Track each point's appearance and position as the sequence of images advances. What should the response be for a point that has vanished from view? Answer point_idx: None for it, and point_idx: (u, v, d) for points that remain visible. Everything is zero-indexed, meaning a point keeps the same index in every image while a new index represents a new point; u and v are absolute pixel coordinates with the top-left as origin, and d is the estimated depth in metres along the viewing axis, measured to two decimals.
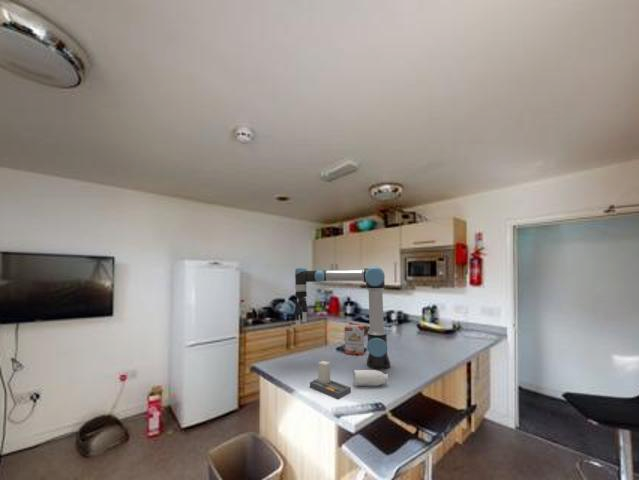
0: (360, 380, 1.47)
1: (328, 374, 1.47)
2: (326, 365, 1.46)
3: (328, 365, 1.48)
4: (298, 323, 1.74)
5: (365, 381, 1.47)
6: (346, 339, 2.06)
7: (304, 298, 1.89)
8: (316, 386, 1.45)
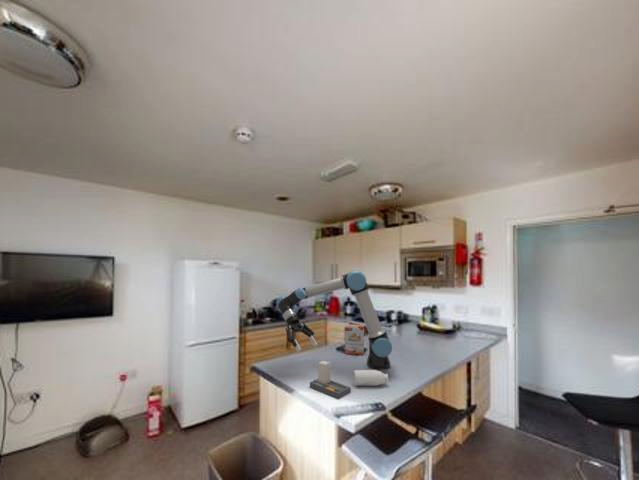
0: (360, 380, 1.47)
1: (328, 374, 1.47)
2: (326, 365, 1.46)
3: (328, 365, 1.48)
4: (298, 348, 1.54)
5: (365, 381, 1.47)
6: (346, 339, 2.06)
7: (302, 323, 1.71)
8: (316, 386, 1.45)
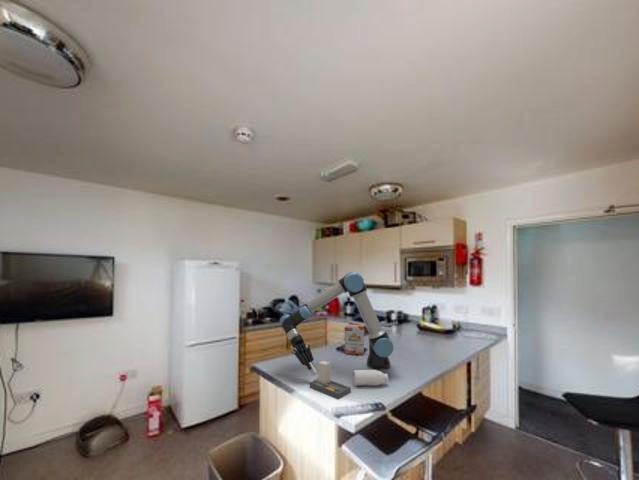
0: (360, 380, 1.47)
1: (328, 374, 1.47)
2: (326, 365, 1.46)
3: (328, 365, 1.48)
4: (313, 371, 1.53)
5: (365, 381, 1.47)
6: (346, 339, 2.06)
7: (307, 346, 1.66)
8: (316, 386, 1.45)
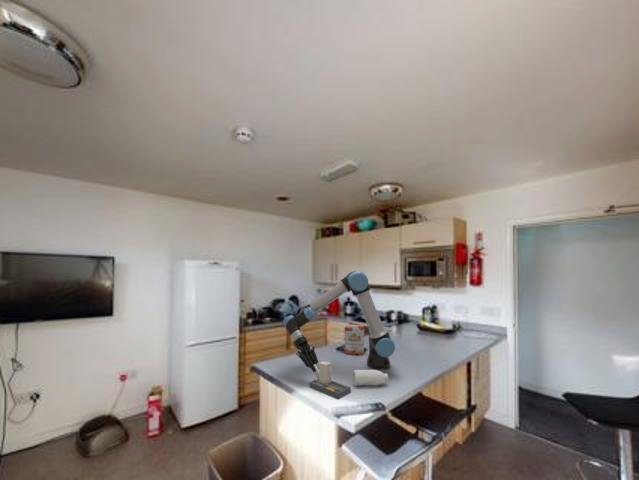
0: (360, 380, 1.47)
1: (329, 374, 1.47)
2: (327, 365, 1.46)
3: (329, 365, 1.47)
4: (317, 374, 1.50)
5: (365, 381, 1.47)
6: (346, 339, 2.06)
7: (312, 347, 1.63)
8: (316, 386, 1.45)
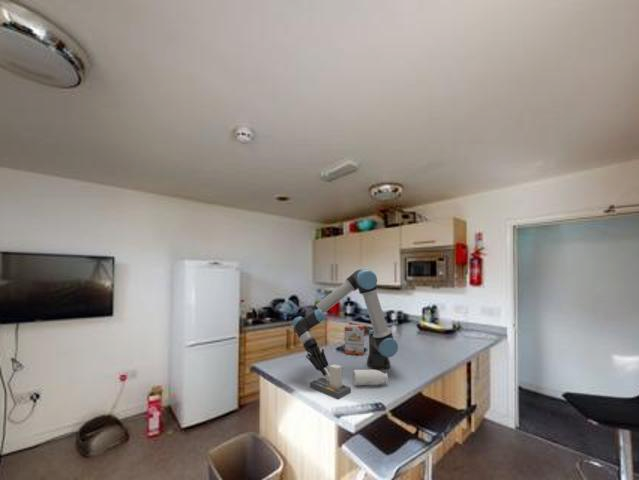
0: (360, 380, 1.47)
1: (340, 378, 1.41)
2: (338, 369, 1.41)
3: (340, 369, 1.42)
4: (328, 377, 1.45)
5: (365, 381, 1.47)
6: (346, 339, 2.06)
7: (321, 350, 1.58)
8: (316, 386, 1.45)
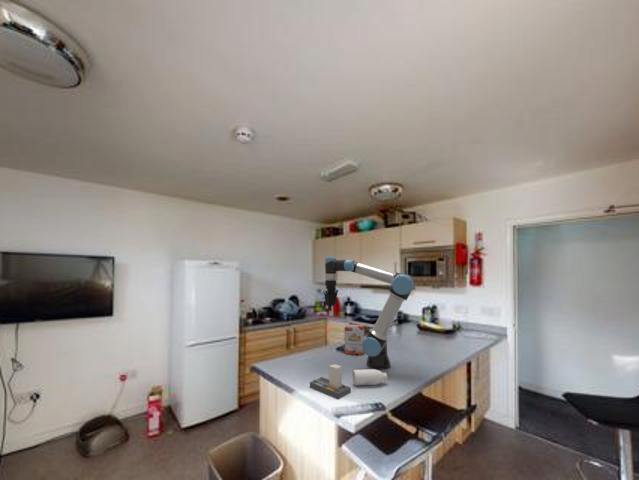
0: (360, 379, 1.47)
1: (340, 378, 1.42)
2: (338, 369, 1.41)
3: (340, 369, 1.42)
4: (330, 313, 1.83)
5: (365, 380, 1.47)
6: (346, 339, 2.06)
7: (336, 290, 1.89)
8: (316, 386, 1.45)
